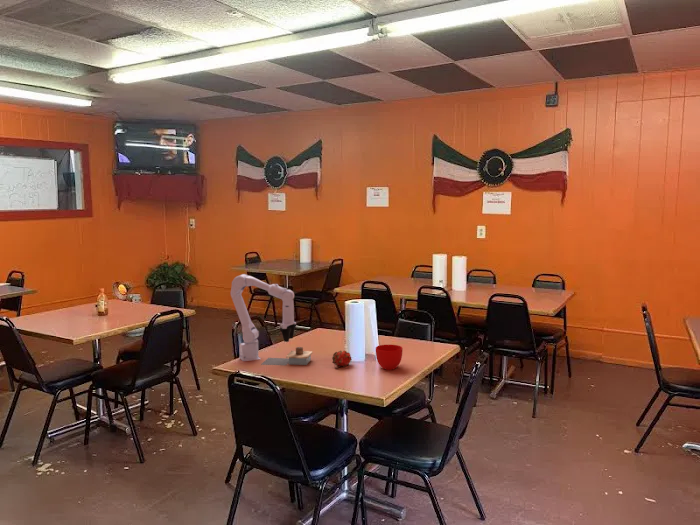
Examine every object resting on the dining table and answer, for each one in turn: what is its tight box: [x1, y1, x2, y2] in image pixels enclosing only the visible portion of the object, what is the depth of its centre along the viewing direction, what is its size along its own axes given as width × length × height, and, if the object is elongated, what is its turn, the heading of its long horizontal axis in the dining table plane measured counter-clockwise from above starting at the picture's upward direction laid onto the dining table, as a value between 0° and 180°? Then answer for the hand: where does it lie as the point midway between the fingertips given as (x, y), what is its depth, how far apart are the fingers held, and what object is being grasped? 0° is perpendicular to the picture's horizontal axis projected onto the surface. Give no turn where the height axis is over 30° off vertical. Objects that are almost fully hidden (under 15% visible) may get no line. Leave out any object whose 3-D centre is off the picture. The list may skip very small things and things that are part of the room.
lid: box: [285, 346, 313, 358], centre depth 273 cm, size 11×11×4 cm
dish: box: [288, 354, 312, 366], centre depth 273 cm, size 9×9×4 cm
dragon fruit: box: [331, 350, 352, 368], centre depth 267 cm, size 8×8×12 cm
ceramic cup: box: [375, 344, 403, 371], centre depth 264 cm, size 13×17×10 cm
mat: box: [260, 357, 289, 366], centre depth 275 cm, size 13×13×1 cm
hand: (288, 339), depth 280 cm, fingers open, 7 cm apart
